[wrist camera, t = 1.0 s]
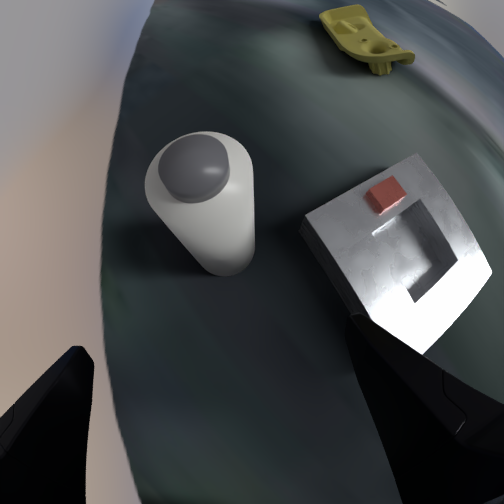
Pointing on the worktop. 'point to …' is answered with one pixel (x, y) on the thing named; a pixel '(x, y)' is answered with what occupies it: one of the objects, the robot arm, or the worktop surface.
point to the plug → (206, 199)
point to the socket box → (399, 252)
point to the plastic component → (363, 39)
